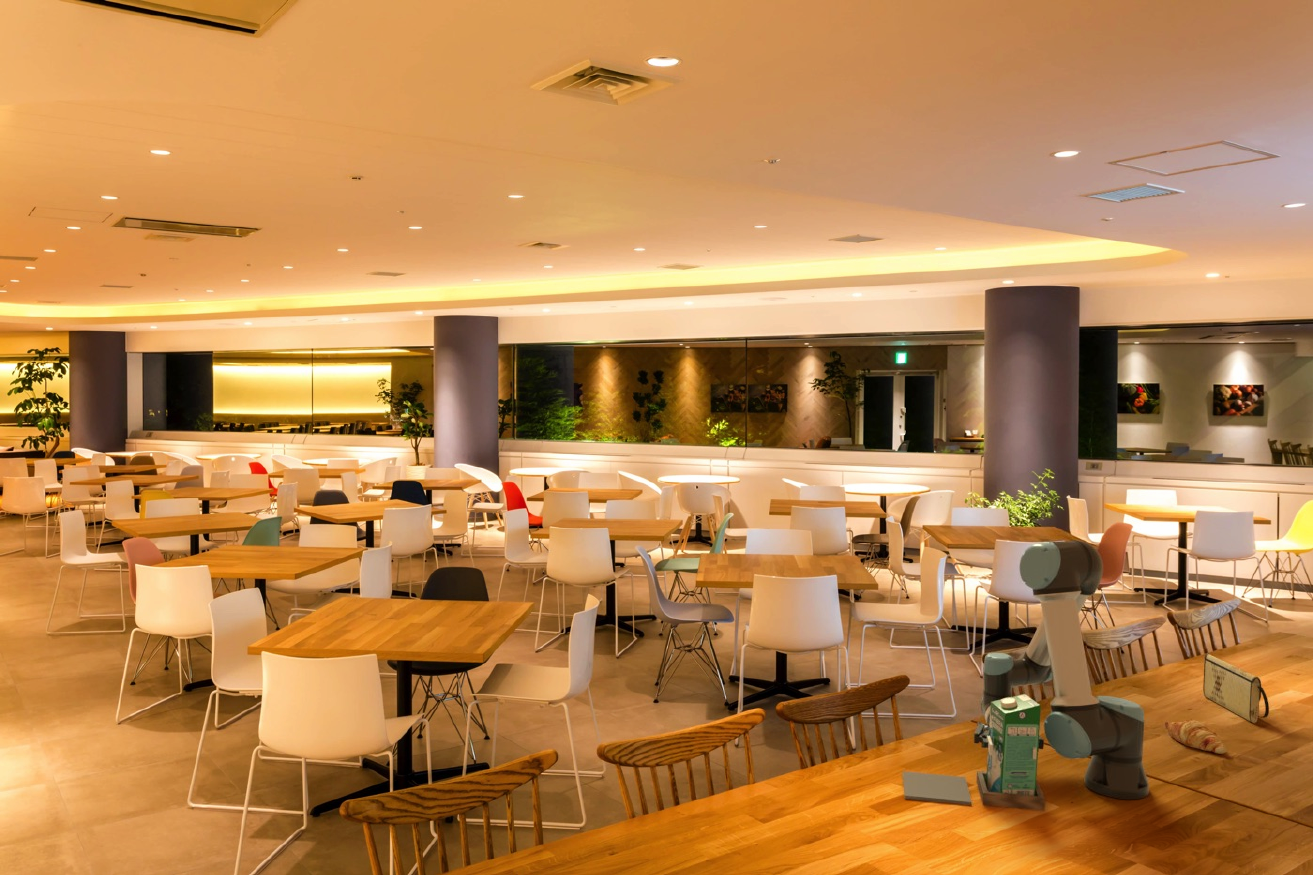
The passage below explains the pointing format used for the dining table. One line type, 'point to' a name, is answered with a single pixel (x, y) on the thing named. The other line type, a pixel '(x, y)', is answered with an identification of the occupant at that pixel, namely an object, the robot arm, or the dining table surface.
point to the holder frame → (1009, 797)
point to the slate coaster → (936, 788)
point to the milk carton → (1013, 745)
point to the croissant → (1195, 736)
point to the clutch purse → (1233, 688)
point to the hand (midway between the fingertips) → (1013, 751)
